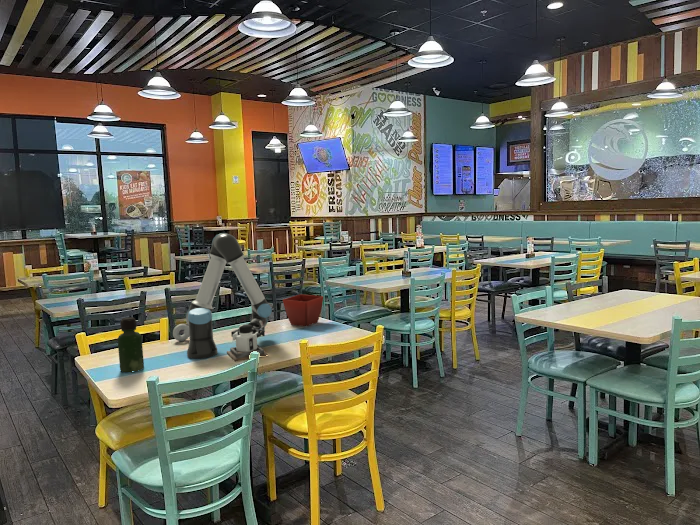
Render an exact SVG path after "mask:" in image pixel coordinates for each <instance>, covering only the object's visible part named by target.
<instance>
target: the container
mask: <svg viewBox="0 0 700 525" xmlns="http://www.w3.org/2000/svg"><path fill="white" fill-rule="evenodd" d="M238 329H239V334H240V335H238V336H236V339H235V347H236V351H240V352H250V351H253V350H256V349H257V345H258V338H257V339H256V340H254V334H252V325H249V323H248V324H241V325H239V327H238Z"/></svg>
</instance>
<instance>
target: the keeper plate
mask: <svg viewBox="0 0 700 525" xmlns="http://www.w3.org/2000/svg"><path fill="white" fill-rule="evenodd" d="M253 351H257V352H259V353H260V356H266V355H268V356H269V354H268V352H266V351H265V349H264V348H262V347H261V346H259V344H257V349H256V350H253ZM253 351H250V352H240V351H236V346H234V347H229V350H227V351H226V355H228V356H229V357H230V358H231V359H232V361H233V362H241V361H248V360H250V359H249V355H250V353H251V352H253ZM266 357H267V356H266Z"/></svg>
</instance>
